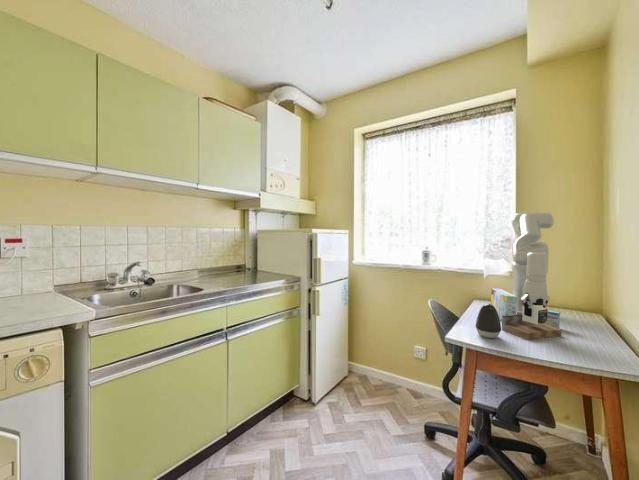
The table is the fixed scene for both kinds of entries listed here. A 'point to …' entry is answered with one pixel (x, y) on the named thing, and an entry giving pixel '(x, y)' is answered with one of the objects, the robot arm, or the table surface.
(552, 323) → the medicine box
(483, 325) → the dark egg-shaped spouted container
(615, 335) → the table surface
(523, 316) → the medicine bottle
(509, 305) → the snack box
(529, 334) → the brown piece
